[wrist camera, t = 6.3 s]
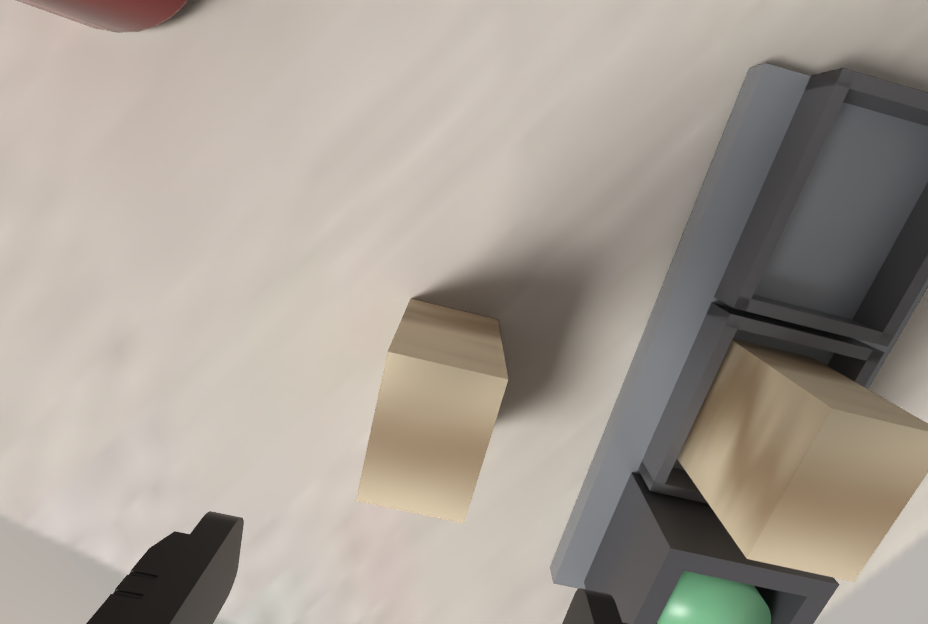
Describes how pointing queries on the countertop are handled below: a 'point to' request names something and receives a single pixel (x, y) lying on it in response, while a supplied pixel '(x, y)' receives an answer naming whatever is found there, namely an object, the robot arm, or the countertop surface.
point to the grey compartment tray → (757, 320)
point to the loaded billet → (802, 460)
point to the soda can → (112, 12)
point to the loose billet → (434, 412)
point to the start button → (714, 602)
